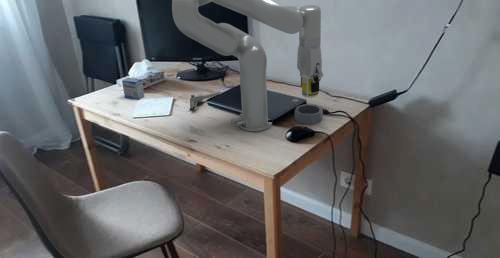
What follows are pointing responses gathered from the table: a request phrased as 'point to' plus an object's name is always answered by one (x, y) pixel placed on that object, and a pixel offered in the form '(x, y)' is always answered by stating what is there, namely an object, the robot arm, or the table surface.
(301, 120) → the socket cup
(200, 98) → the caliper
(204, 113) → the table surface
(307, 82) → the pill bottle
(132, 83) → the medicine box
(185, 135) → the table surface
